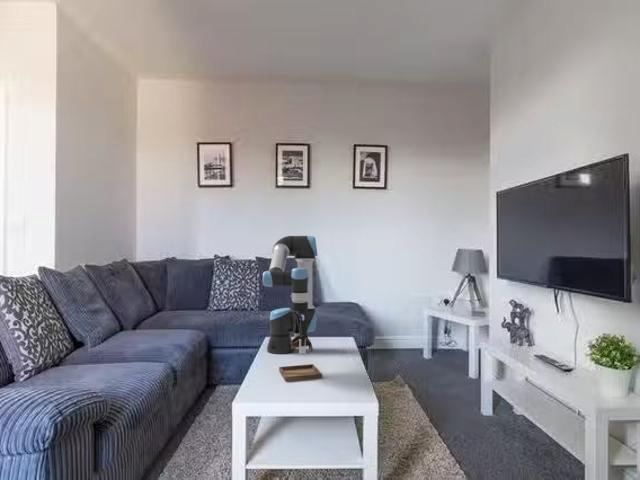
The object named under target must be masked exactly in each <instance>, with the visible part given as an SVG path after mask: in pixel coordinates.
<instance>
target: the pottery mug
mask: <svg viewBox="0 0 640 480" xmlns="http://www.w3.org/2000/svg"><path fill="white" fill-rule="evenodd" d="M303 336H304V335H303ZM299 337H300V335H299V336H297V337H295V338H293V339H292V342H290V344H291V349H292V350H294V351H295V349H298V348H297V347H299ZM297 340H298V341H297ZM296 341H297V342H296ZM307 347H308V350H310V352H313V351H314V348H313V344H312V342H311V340H310V338H309V337H308V336H307V338H306V348H307Z"/></svg>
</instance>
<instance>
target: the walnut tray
mask: <svg viewBox="0 0 640 480" xmlns="http://www.w3.org/2000/svg"><path fill="white" fill-rule="evenodd" d="M278 372H279V373H280V375H281V377H282V378H283V380H284V382H285V383H288V382H299V381H308V380H309V381H310V380H319V379H323V374H322V372H321V371H320V370H319V369H318V368H317V367H316V365H315V364H313V363H311V364H299V365H287V366H279V367H278Z"/></svg>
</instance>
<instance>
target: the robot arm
mask: <svg viewBox="0 0 640 480" xmlns="http://www.w3.org/2000/svg"><path fill="white" fill-rule="evenodd" d="M316 240H317V239H316V237H315V236H314V235H287V236H284V237H282V238H280V239H279V240H277V241H276V242H275V243H274V245H273V247H272V250H271V253H272V256H271V257H272V258H271V262H270V264H269V269H268V270H266V271H263V273H262V284H263V286H264V287H269V288H273V287H274V288H275V287H277V288H279V287H283V288H284V287H291V294H290V298H291V301H292V302H291V308H290V307H282V308H276V309H273V310H272V311H270V313H269V339H268V342H267V346H266V352H267V353H269V354H276V355H277V354H278V355H281V354H289V353H292V352H294V351H295V349H294V350H292V349H291V344H290V342H292V340H293V339H294V338H295V337H297V336H299V335H300V337H299V347H297V348H296V349H298V348H299V349H298V351H299V354H306V351H307V350H306V349H307V347H306V338H307V337H308V335H307V334H308V333H309V332H311V333H312V332H314V331H316V328H317V327H316V326H317V319H318V313H319V311H318V310H316V307H315V306H314V305H313V262H314V261H315V260H316V257H318V249H317V241H316ZM288 257H294V260H295V261H296V262H297V264H296V265H297V267H295V268H292V269H291V270H285V269H286V268H285V267H286V265H287V264H286V263H287V258H288ZM292 332H293V333H294V338H293V339H292ZM303 335H304V336H303ZM297 341H298V340H297ZM297 341H296V342H297Z"/></svg>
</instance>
